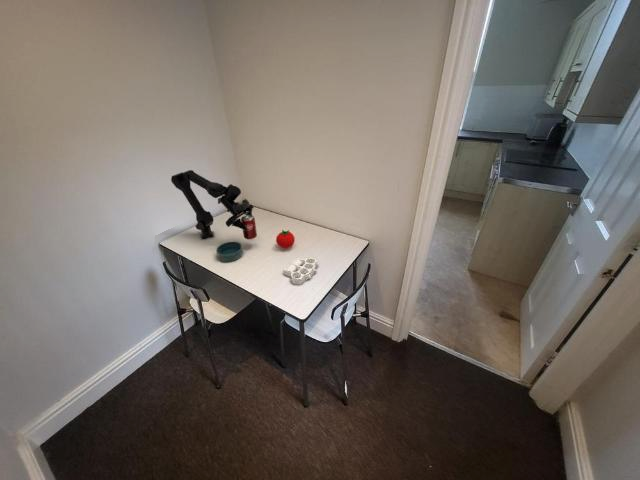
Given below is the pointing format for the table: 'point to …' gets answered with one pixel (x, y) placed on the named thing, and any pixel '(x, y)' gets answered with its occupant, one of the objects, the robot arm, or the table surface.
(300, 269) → the white muffin tray
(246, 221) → the soda can
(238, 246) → the bowl
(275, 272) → the table surface
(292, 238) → the tomato
